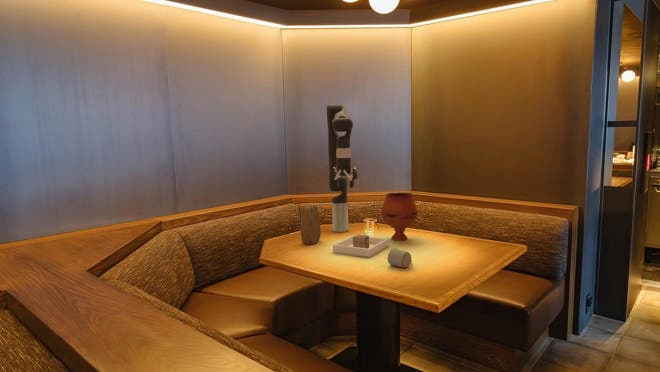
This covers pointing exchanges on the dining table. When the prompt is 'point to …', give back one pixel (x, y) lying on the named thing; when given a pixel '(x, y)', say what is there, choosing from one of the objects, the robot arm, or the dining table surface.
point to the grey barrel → (399, 258)
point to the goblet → (399, 213)
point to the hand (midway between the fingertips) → (344, 187)
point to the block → (310, 225)
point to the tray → (348, 249)
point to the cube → (361, 241)
